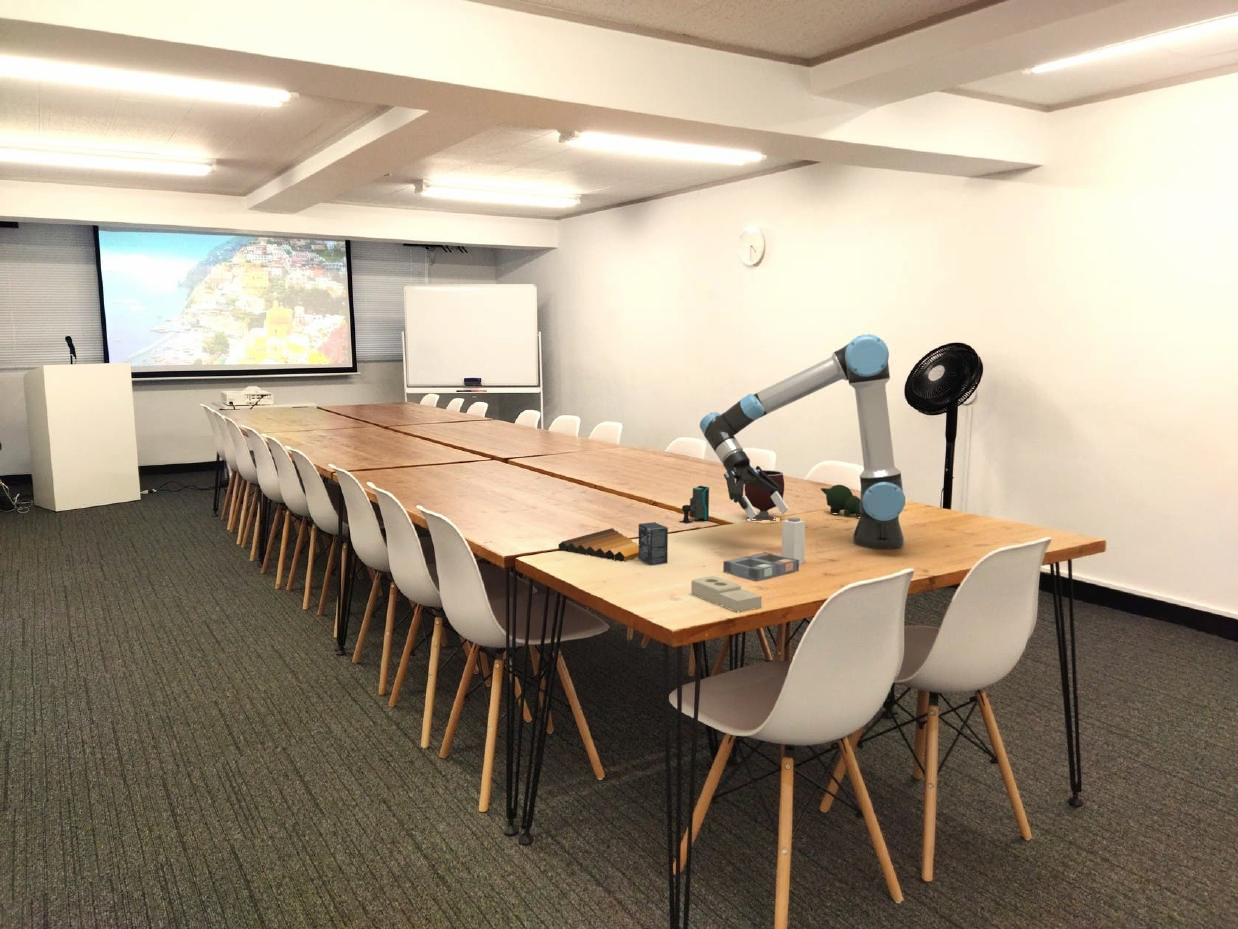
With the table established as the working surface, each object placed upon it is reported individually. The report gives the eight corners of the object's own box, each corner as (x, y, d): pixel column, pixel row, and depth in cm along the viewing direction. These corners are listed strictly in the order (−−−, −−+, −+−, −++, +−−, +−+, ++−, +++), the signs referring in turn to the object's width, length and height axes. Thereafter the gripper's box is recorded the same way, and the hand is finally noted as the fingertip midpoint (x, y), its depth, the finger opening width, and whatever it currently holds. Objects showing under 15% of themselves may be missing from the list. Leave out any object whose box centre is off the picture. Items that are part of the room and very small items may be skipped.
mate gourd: (776, 516, 312) (777, 461, 310) (788, 523, 299) (790, 466, 296) (734, 517, 310) (735, 462, 308) (745, 524, 297) (746, 467, 294)
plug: (791, 559, 246) (792, 516, 245) (804, 562, 243) (805, 518, 241) (781, 562, 244) (782, 518, 242) (793, 565, 240) (795, 520, 238)
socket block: (765, 562, 243) (765, 551, 243) (799, 570, 234) (799, 559, 234) (723, 572, 233) (723, 560, 232) (757, 581, 223) (757, 569, 223)
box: (637, 559, 247) (638, 523, 245) (655, 557, 249) (655, 521, 248) (650, 565, 240) (650, 528, 238) (668, 563, 242) (668, 526, 241)
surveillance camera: (677, 487, 301) (699, 485, 306) (677, 521, 302) (699, 518, 308) (687, 489, 296) (709, 487, 302) (687, 524, 298) (709, 521, 303)
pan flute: (608, 537, 279) (558, 551, 259) (608, 527, 278) (558, 540, 258) (672, 548, 264) (624, 563, 244) (672, 537, 263) (624, 552, 244)
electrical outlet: (737, 597, 196) (691, 579, 211) (737, 614, 197) (690, 595, 212) (761, 592, 200) (714, 575, 215) (761, 609, 200) (713, 591, 216)
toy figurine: (887, 523, 308) (824, 508, 324) (893, 471, 304) (830, 459, 320) (875, 527, 301) (812, 512, 317) (882, 474, 297) (817, 461, 313)
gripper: (754, 462, 267) (790, 516, 258) (696, 468, 252) (733, 527, 242) (767, 446, 263) (805, 501, 253) (710, 452, 247) (747, 511, 237)
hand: (769, 514), depth 248 cm, fingers open, 13 cm apart
